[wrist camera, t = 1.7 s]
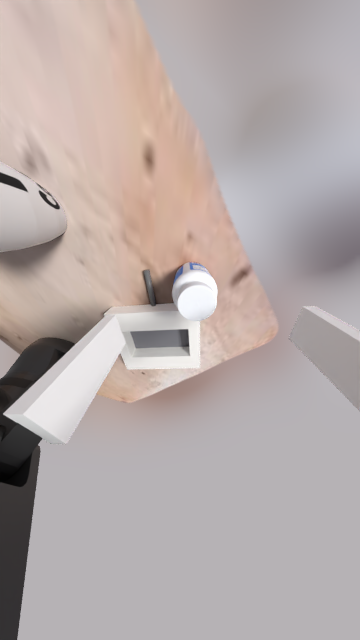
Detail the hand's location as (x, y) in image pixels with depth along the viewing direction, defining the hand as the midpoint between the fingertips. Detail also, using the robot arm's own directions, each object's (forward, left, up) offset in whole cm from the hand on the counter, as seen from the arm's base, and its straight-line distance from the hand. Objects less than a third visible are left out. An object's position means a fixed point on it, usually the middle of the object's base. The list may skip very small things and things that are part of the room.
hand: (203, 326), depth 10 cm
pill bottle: (0, 0, -14) cm, 14 cm away
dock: (-7, -8, -14) cm, 17 cm away
